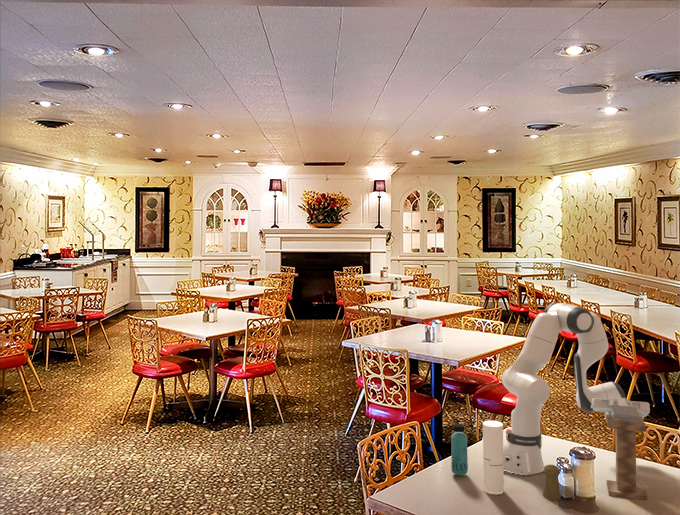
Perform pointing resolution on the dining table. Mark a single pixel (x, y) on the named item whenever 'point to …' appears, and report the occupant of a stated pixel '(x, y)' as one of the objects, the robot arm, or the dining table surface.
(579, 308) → the robot arm
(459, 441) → the beverage bottle
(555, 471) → the olive shaker
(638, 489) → the stand
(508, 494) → the dining table surface
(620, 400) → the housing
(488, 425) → the cylindrical container
